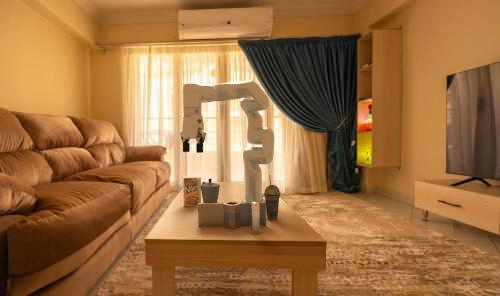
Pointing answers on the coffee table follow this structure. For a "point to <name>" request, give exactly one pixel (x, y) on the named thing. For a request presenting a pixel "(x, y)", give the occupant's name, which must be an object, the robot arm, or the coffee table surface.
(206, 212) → the hinge
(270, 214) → the beverage cup
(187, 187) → the candy box
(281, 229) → the coffee table surface
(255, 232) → the steel pin
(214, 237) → the coffee table surface
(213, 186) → the coffeepot
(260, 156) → the robot arm
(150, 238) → the coffee table surface
